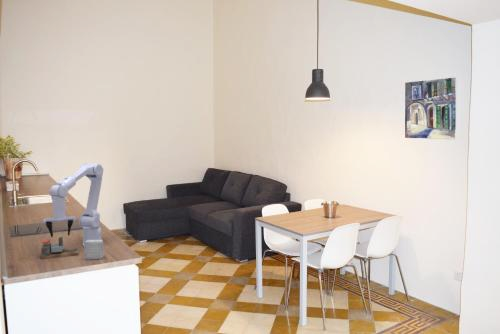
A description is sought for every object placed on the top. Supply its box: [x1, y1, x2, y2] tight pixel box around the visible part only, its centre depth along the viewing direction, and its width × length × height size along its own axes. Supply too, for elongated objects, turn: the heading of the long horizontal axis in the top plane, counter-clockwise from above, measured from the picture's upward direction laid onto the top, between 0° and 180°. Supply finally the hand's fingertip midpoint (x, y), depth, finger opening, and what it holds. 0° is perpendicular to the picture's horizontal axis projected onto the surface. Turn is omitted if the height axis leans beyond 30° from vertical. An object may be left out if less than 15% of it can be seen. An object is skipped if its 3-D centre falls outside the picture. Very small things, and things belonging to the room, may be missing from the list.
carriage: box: [51, 236, 64, 252], centre depth 203 cm, size 5×7×6 cm
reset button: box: [41, 238, 51, 244], centre depth 201 cm, size 4×4×1 cm
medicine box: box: [83, 239, 105, 260], centre depth 198 cm, size 8×4×9 cm, turn 92°
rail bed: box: [39, 241, 80, 260], centre depth 204 cm, size 17×10×5 cm, turn 111°
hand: (60, 235), depth 204 cm, fingers open, 7 cm apart
